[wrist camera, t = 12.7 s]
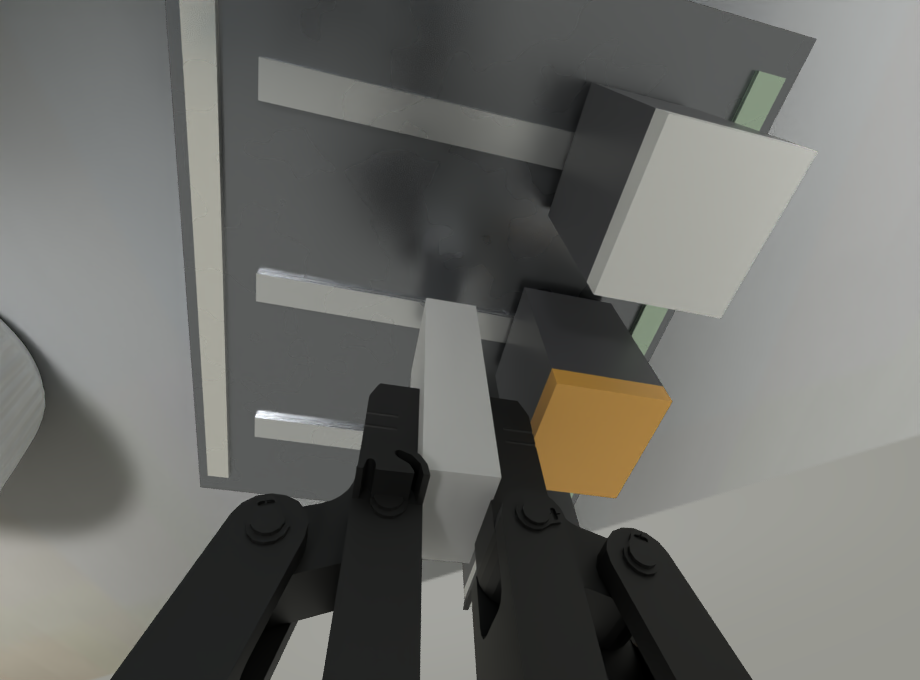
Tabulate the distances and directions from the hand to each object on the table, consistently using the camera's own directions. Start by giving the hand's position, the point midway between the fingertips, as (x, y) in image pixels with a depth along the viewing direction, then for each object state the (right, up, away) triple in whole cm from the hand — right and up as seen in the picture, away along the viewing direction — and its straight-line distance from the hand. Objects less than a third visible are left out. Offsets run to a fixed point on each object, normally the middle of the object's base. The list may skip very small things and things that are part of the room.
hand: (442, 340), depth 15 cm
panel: (0, +2, +3) cm, 4 cm away
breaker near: (+5, +5, -1) cm, 7 cm away
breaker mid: (+4, 0, +2) cm, 4 cm away
